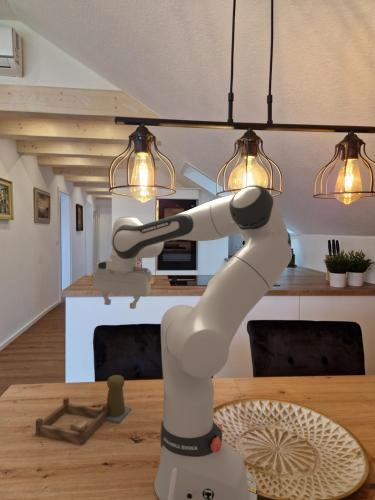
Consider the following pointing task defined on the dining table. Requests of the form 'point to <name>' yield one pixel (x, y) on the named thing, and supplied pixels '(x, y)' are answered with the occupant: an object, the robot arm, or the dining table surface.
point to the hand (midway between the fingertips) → (119, 306)
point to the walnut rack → (69, 435)
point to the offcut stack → (78, 425)
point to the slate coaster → (117, 419)
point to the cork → (115, 396)
